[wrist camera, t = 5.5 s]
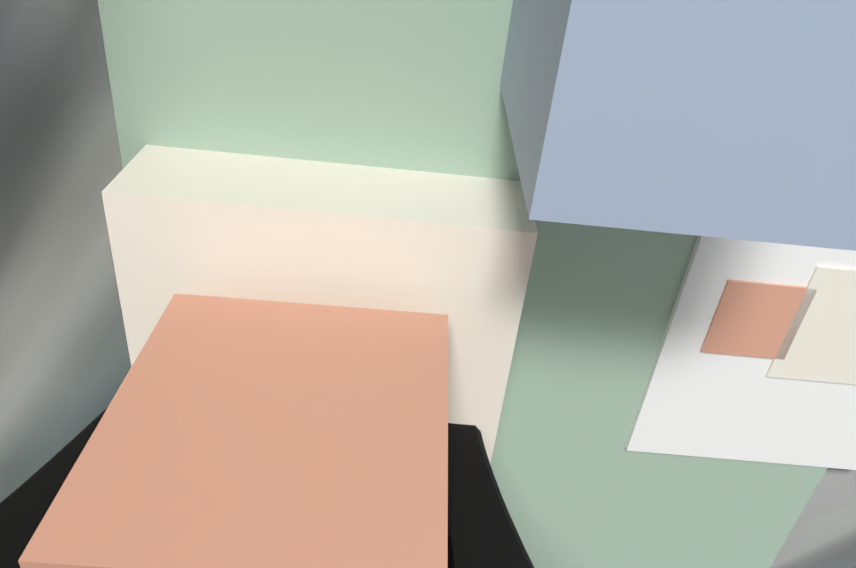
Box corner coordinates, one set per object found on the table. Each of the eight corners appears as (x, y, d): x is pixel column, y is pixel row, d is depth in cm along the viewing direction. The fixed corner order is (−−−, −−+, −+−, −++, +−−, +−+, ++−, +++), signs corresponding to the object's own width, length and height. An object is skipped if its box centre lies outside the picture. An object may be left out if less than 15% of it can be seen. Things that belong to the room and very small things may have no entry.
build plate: (1131, -106, 11) (1159, -104, 10) (688, 683, 23) (693, 699, 23) (78, -227, 10) (63, -230, 10) (201, 647, 23) (197, 663, 22)
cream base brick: (525, 181, 13) (537, 233, 11) (476, 447, 17) (479, 516, 15) (146, 144, 13) (101, 192, 11) (182, 423, 17) (152, 490, 15)
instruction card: (1065, 156, 13) (1074, 161, 12) (871, 466, 17) (876, 473, 17) (737, 122, 12) (742, 127, 12) (625, 445, 17) (627, 452, 17)
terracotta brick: (428, 496, 14) (418, 782, 10) (201, 480, 14) (96, 760, 10) (448, 314, 12) (446, 591, 7) (174, 293, 12) (17, 560, 7)
